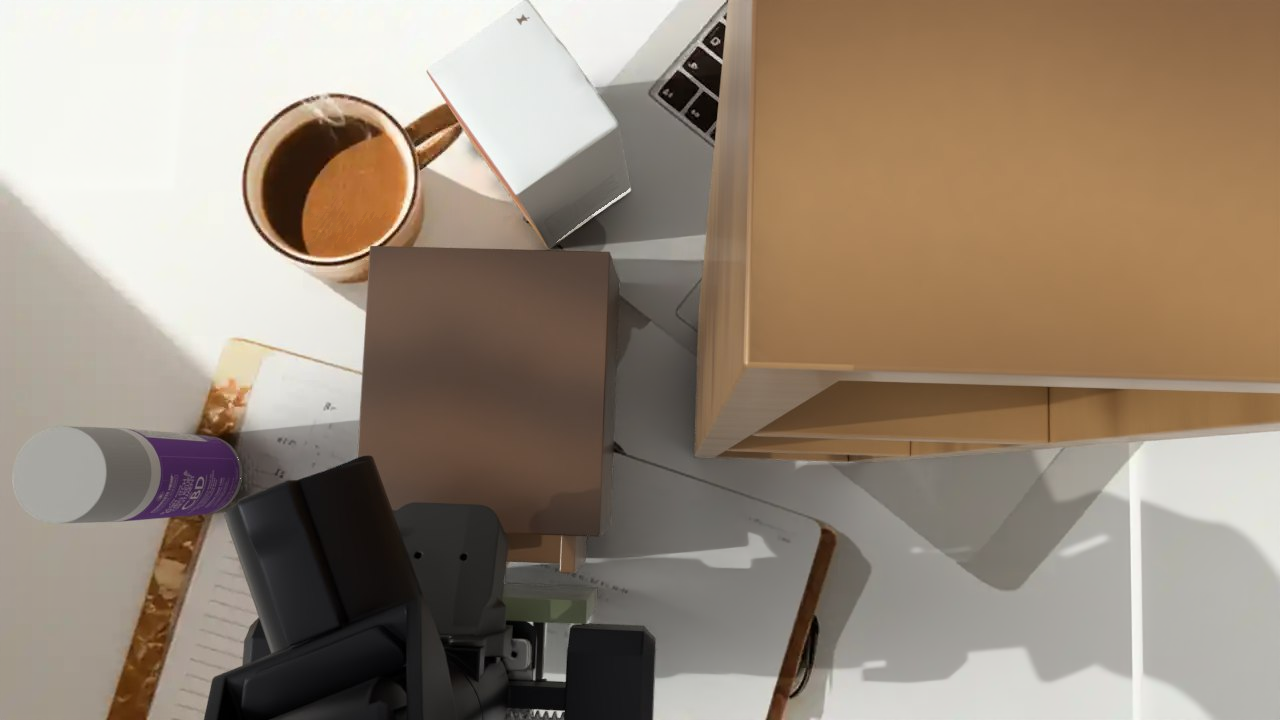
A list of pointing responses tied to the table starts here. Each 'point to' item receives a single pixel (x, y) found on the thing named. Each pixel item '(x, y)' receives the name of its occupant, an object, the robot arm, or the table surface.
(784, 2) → the rack
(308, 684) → the robot arm
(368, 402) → the brown box
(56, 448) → the container
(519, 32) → the small box
